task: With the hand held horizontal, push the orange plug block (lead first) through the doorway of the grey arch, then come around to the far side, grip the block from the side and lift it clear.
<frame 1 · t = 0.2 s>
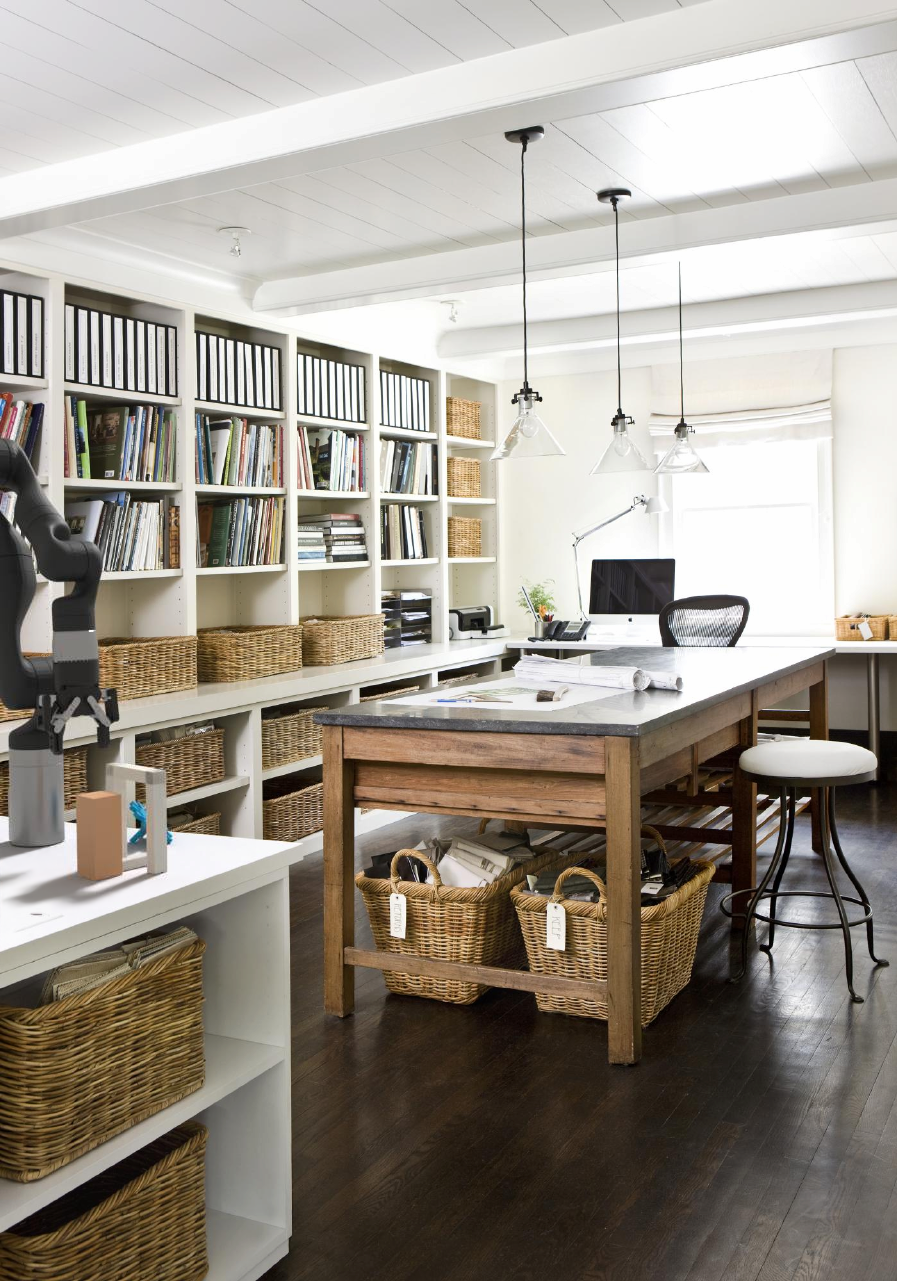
hand: (80, 751, 197), 18 cm above the table, tool pointing down, fingers open, 8 cm apart
blue branched piece: (151, 843, 207), on the table
grey arch: (136, 866, 189), on the table
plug: (100, 874, 184), on the table
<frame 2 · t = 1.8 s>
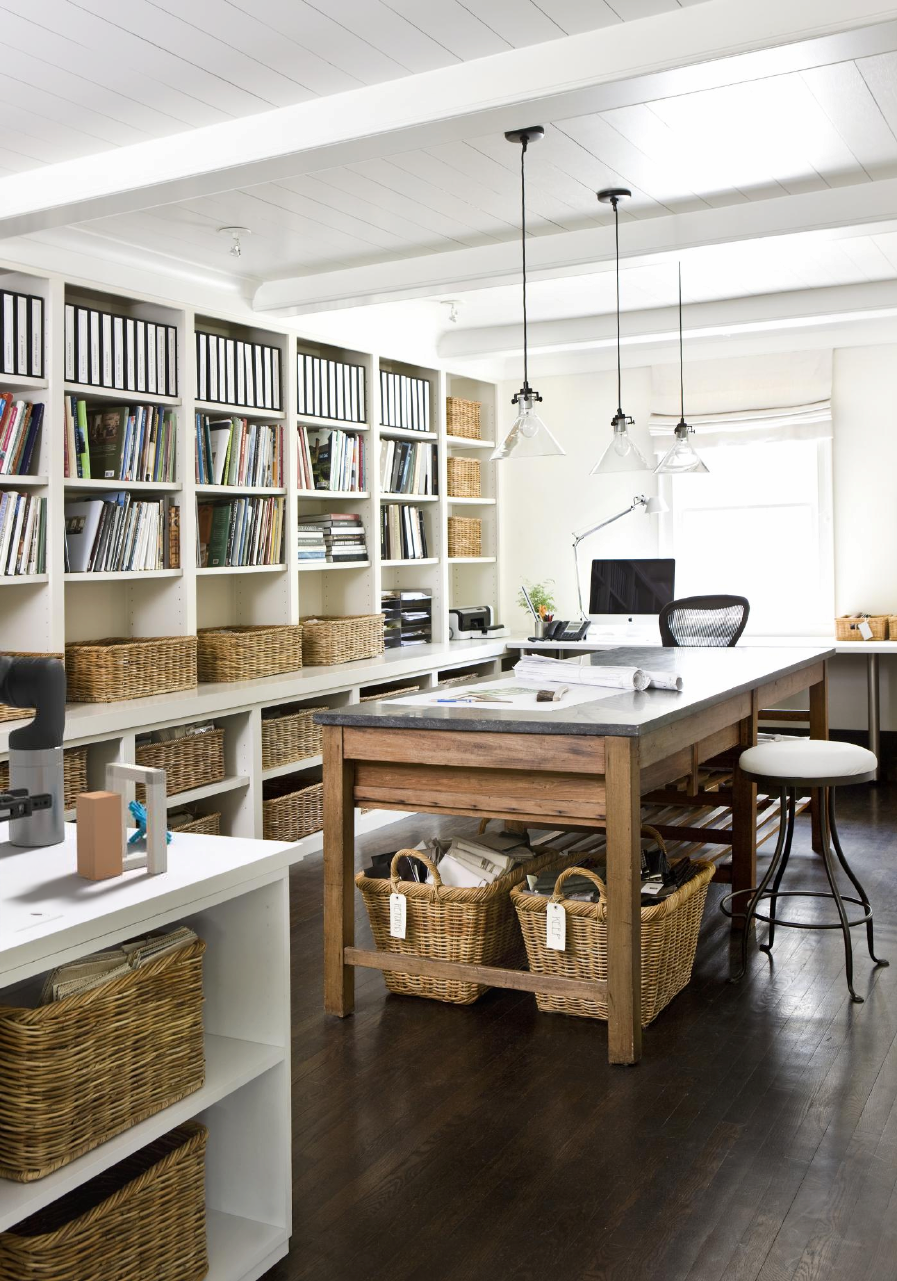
hand: (38, 797, 175), 14 cm above the table, tool horizontal, fingers open, 6 cm apart
nothing on the table moved.
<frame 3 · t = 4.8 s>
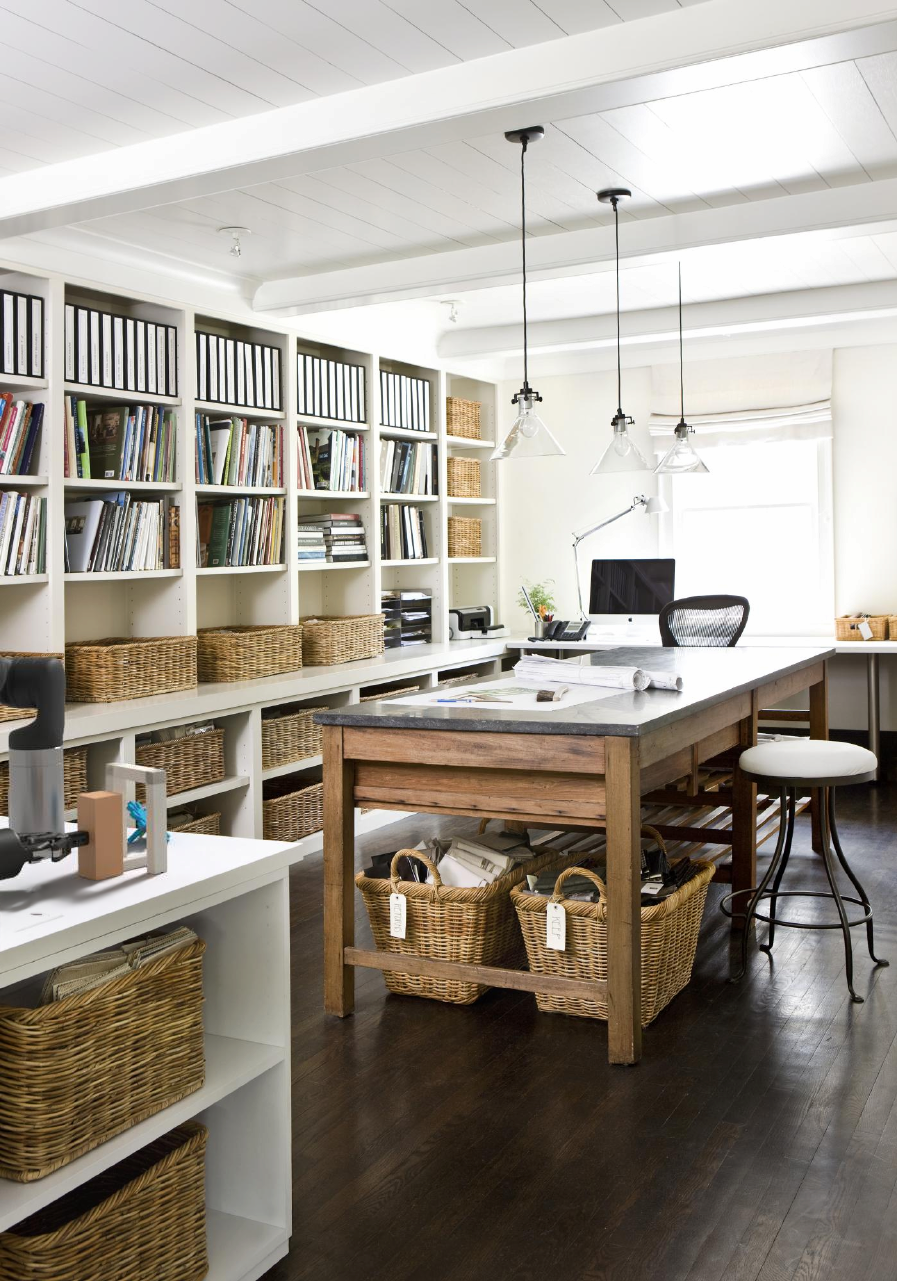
hand: (86, 837, 182), 7 cm above the table, tool horizontal, fingers closed
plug: (100, 874, 184), on the table, touching gripper
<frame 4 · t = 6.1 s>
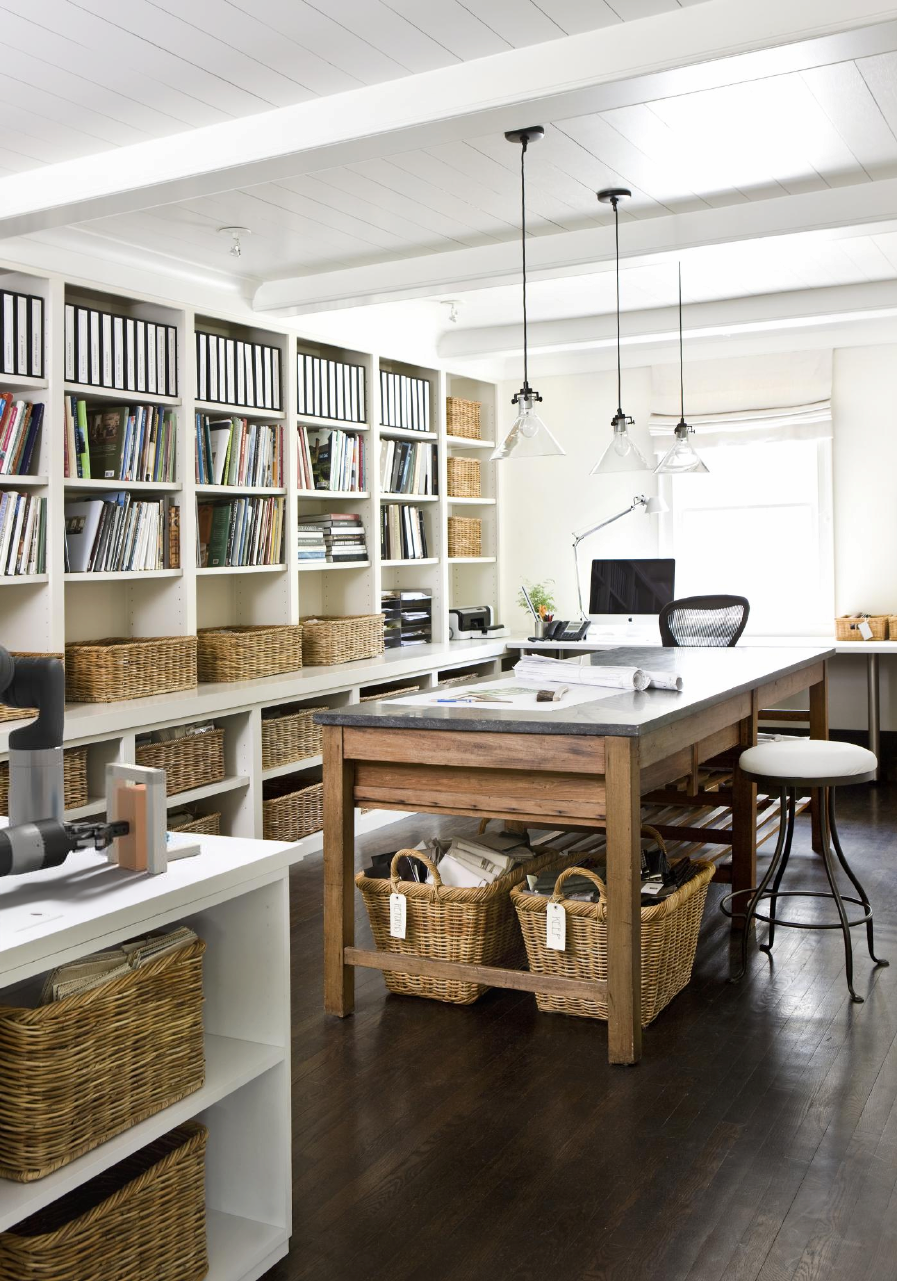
hand: (126, 827, 188), 7 cm above the table, tool horizontal, fingers closed
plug: (140, 865, 190), on the table, touching gripper
everything else where it was.
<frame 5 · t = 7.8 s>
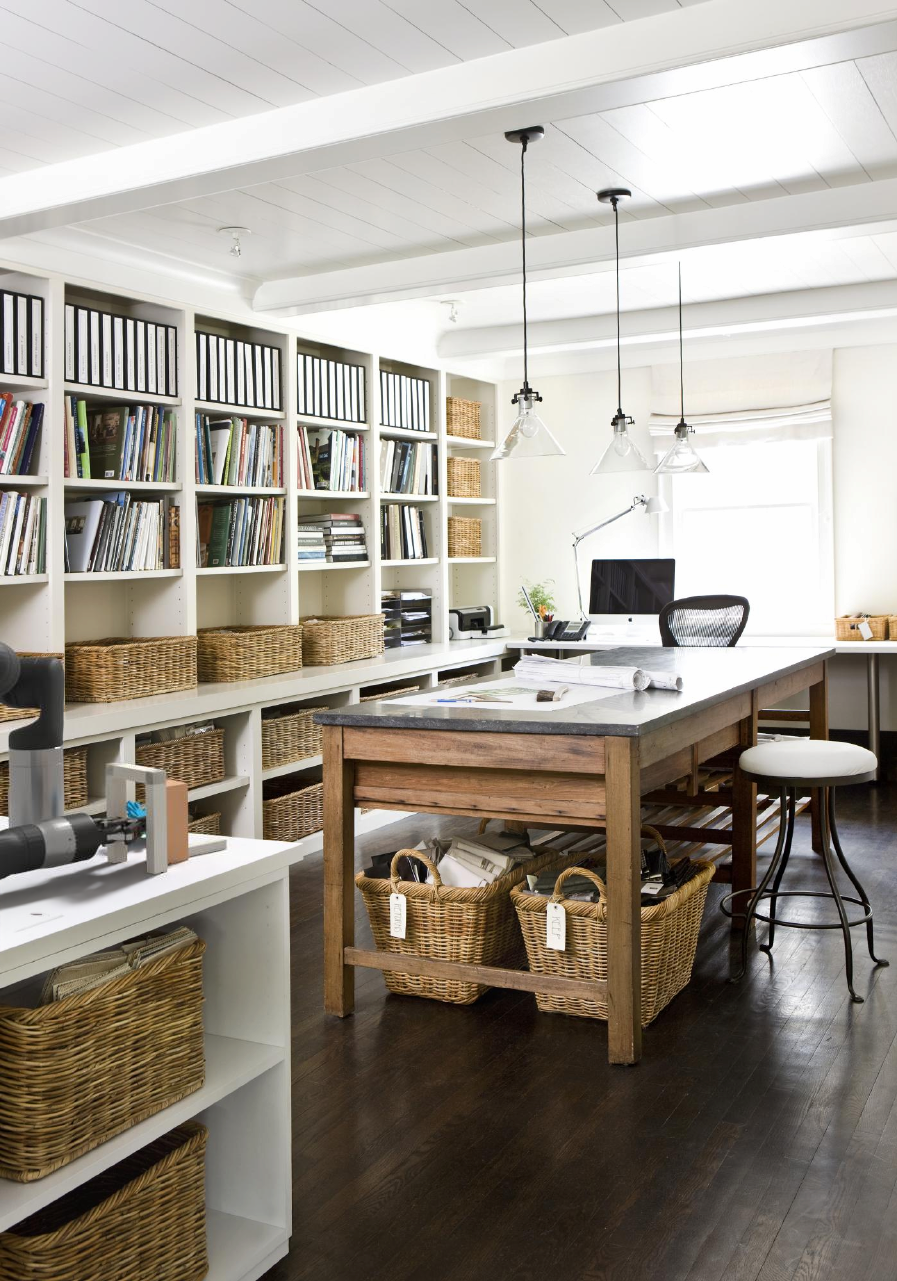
hand: (153, 821, 192), 7 cm above the table, tool horizontal, fingers closed
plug: (167, 859, 194), on the table, touching gripper
everything else where it was.
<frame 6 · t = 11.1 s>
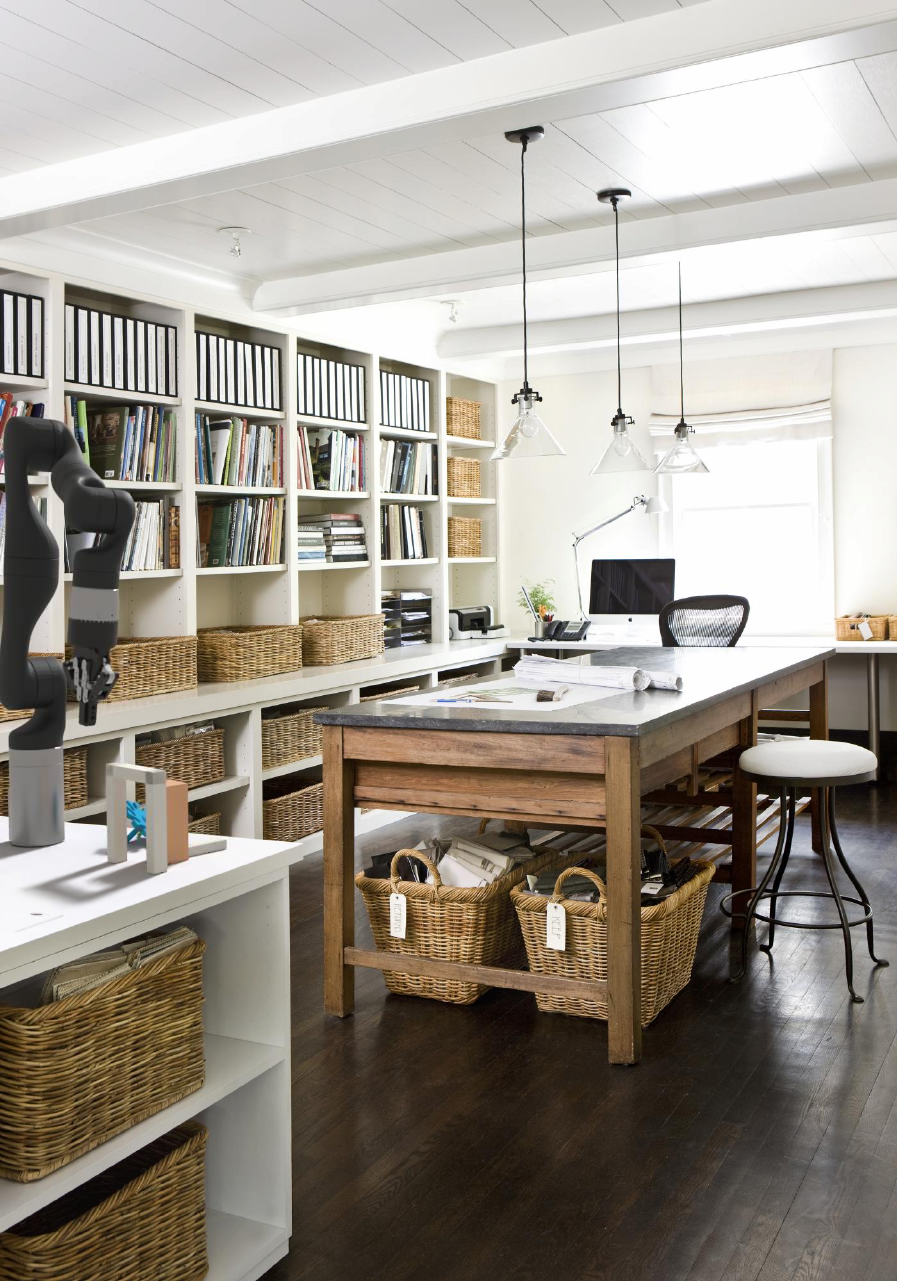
hand: (87, 725, 181), 24 cm above the table, tool pointing down, fingers closed
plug: (167, 859, 194), on the table
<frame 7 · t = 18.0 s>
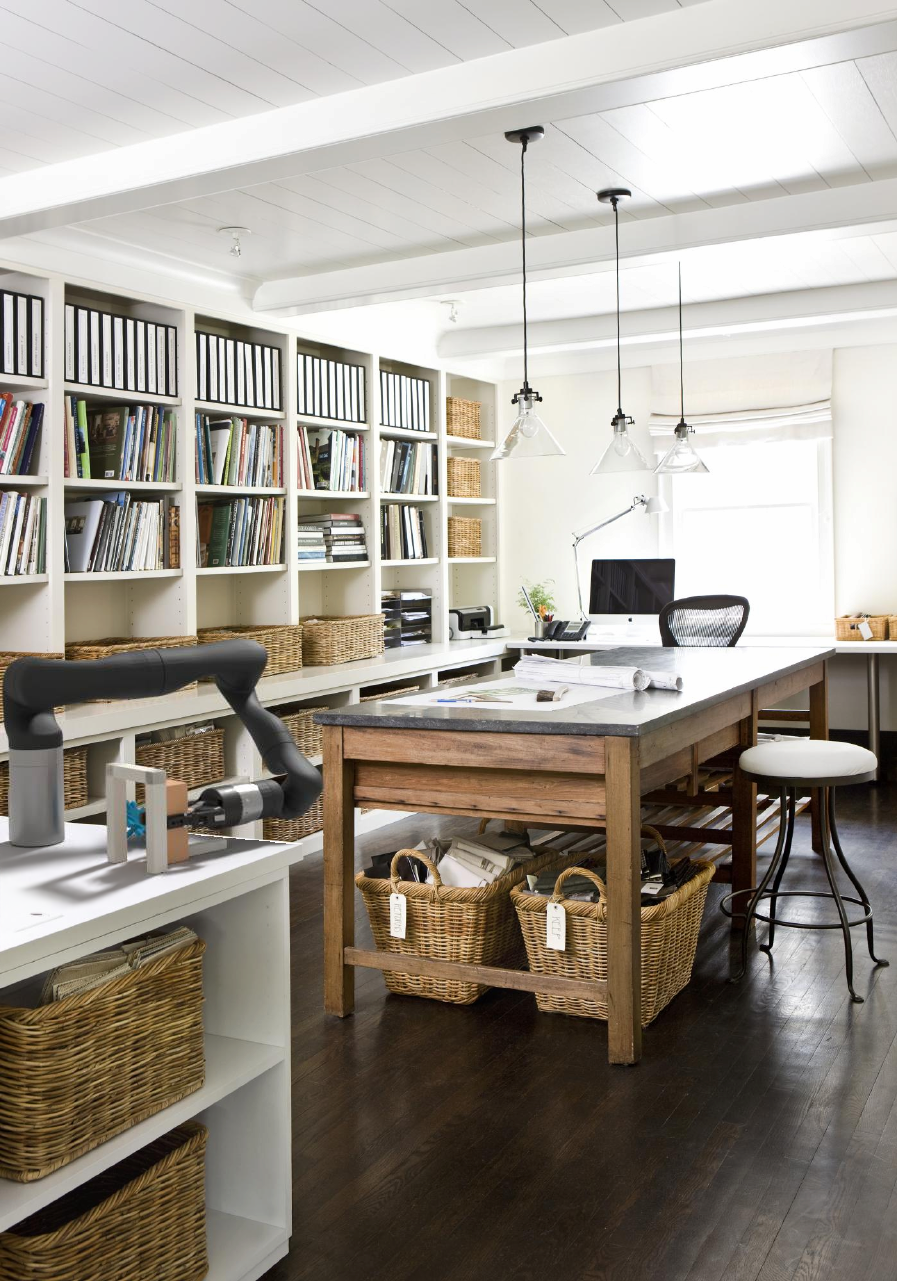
hand: (151, 821, 191), 7 cm above the table, tool horizontal, fingers closed on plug, 5 cm apart
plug: (167, 859, 194), on the table, touching gripper
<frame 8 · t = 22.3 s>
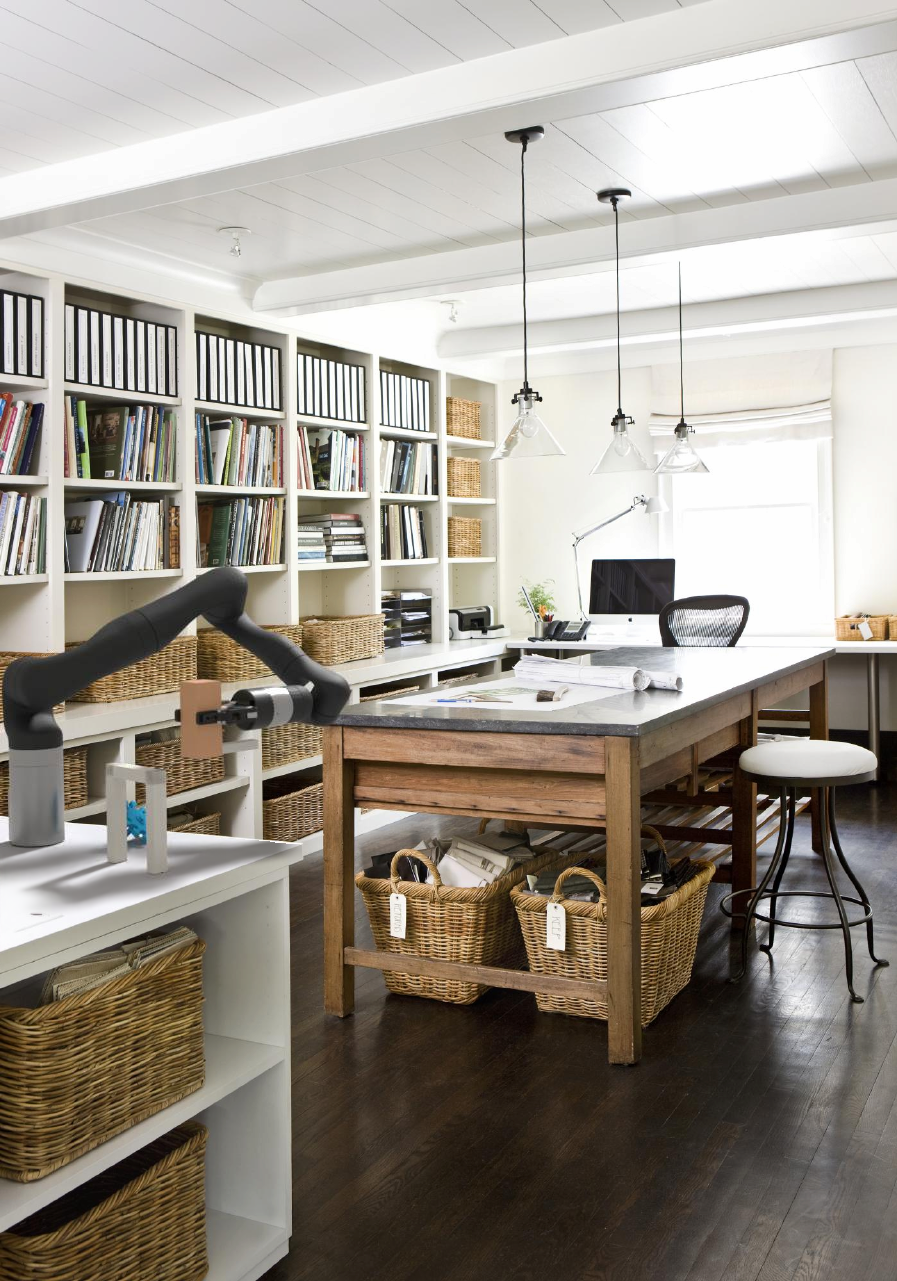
hand: (186, 717, 196), 24 cm above the table, tool horizontal, fingers closed on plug, 5 cm apart
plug: (201, 755, 199), point 17 cm above the table, touching gripper
at the end: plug inside the target area (1.6 cm from its centre), point 16.7 cm above the table; the gripper is holding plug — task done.
